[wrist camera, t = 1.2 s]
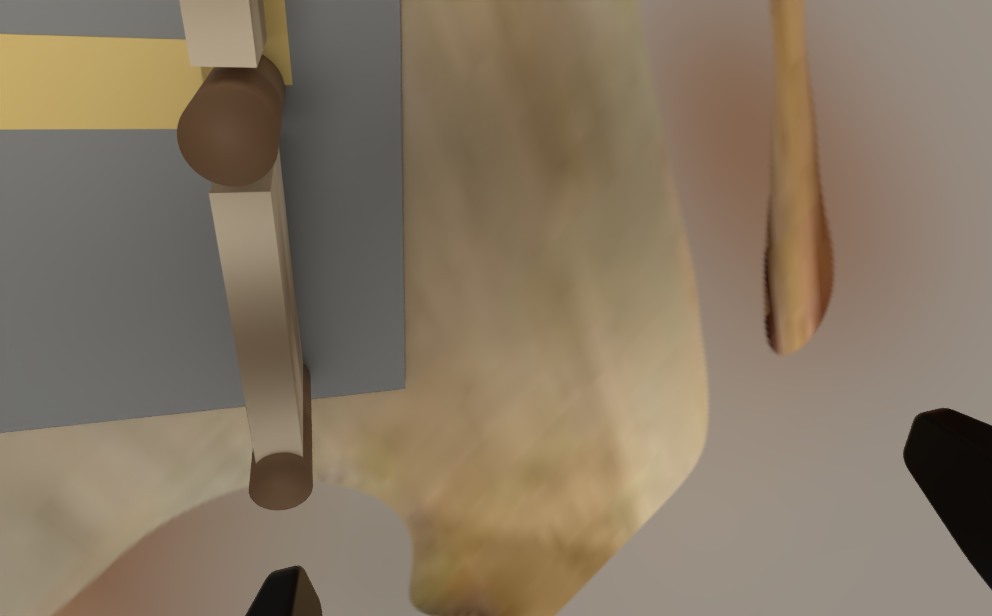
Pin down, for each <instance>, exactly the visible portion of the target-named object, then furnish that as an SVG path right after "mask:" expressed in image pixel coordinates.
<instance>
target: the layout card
mask: <svg viewBox="0 0 992 616" xmlns="http://www.w3.org/2000/svg"><path fill="white" fill-rule="evenodd" d="M263 1H264V11H265V20H266V29H267V41H266V44H265V46H264V49H263V52H262V55H264V56H265V57H267V58H268V59H269V60H271V61H272V62H273V63H274V64H275V65H276V67H277V68H278V70H279V71H280V73H281V75H282V77H283V80H284V85H285V97H284V105H283V114H282V123H281V131H280V140H279V152H280V161H281V170H282V179H283V188H284V197H285V206H286V215H287V224H288V233H289V242H290V251H291V260H292V269H293V278H294V287H295V296H296V304H297V313H298V322H299V331H300V340H301V349H302V358H303V363H304V364H305V365H306V366H307V367H308V369H309V371H310V374H311V399H316V398H325V397H334V396H343V395H353V394H362V393H371V392H380V391H389V390H398V389H405V338H404V262H403V187H402V111H401V36H400V0H263ZM213 68H214V67H196V66H190V60H189V54H188V49H187V43H186V37H185V31H184V25H183V19H182V14H181V8H180V2H179V0H0V433H5V432H14V431H23V430H32V429H41V428H50V427H60V426H69V425H78V424H87V423H96V422H105V421H115V420H124V419H133V418H142V417H151V416H160V415H169V414H179V413H188V412H197V411H206V410H215V409H224V408H234V407H243V406H246V404H245V398H244V393H243V387H242V381H241V376H240V370H239V364H238V358H237V353H236V347H235V341H234V335H233V330H232V324H231V318H230V312H229V307H228V301H227V295H226V289H225V284H224V278H223V272H222V266H221V261H220V255H219V249H218V243H217V238H216V232H215V226H214V220H213V215H212V209H211V203H210V197H209V191H210V189H211V186H212V183H213V182H211V181H209V180H207V179H205V178H203V177H202V176H200V175H199V174H198V173H196V172H195V171H194V170H193V169H192V168H191V167H190V166H189V165H188V163H187V162H186V160H185V159H184V157H183V155H182V154H181V151H180V149H179V145H178V141H177V126H178V122H179V119H180V117H181V115H182V113H183V111H184V110H185V108H186V107H187V105H188V104H189V102H190V101H191V100H192V98H193V97H194V95H195V94H196V92H197V91H198V89H199V88H200V87H201V85H202V84H203V82H204V81H205V79H206V78H207V76H208V75H209V73H210V72H211V71H212V69H213Z"/></svg>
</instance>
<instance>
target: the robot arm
mask: <svg viewBox="0 0 992 616" xmlns="http://www.w3.org/2000/svg"><path fill="white" fill-rule="evenodd" d="M903 457H904V461H905V464H906V466H907V468H908V470H909V471H910V473H911V474H912V476H913V478H914V479H915V481H916V482H917V484H918V485H919V487H920V488H921V490H922V491H923V493H924V494H925V496H926V497H927V499H928V500H929V502H930V503H931V505H932V506H933V508H934V509H935V511H936V512H937V514H938V516H939V517H940V519H941V520H942V522H943V523H944V524H945V526H946V528H947V529H948V531H949V532H950V534H951V535H952V537H953V538H954V540H955V541H956V543H957V544H958V546H959V547H960V549H961V550H962V552H963V553H964V554H965V556H966V557H967V559H968V560H969V561H970V563H971V564H972V565H973V567H974V568H975V569H976V571H977V572H978V573H979V575H980V576H981V577H982V578H983V579H984V581H985V582H986V584H987V585H988V586H989V587H990V588H991V590H992V426H991V425H989V424H987V423H984V422H982V421H979V420H977V419H974V418H972V417H969V416H967V415H964V414H962V413H960V412H957V411H954V410H951V409H948V408H939V409H935V410H931V411H927V412H923V413H920V414H918V415H917V416H916V417H915V419H914V421H913V423H912V426H911V429H910V432H909V435H908V439H907V441H906V444H905V447H904V451H903ZM245 616H322V609H321V604H320V601H319V598H318V596H317V594H316V592H315V590H314V588H313V586H312V584H311V582H310V580H309V578H308V576H307V574H306V572H305V570H304V569H303V568H302V567H301V566H292V567H288V568H285V569H280V570H276V571H274V572H272V573H271V574H270V575H269V576H268V577H267V578H266V580H265V582H264V583H263V585H262V587H261V589H260V590H259V592H258V594H257V596H256V597H255V599H254V601H253V603H252V605H251V606H250V608H249V610H248V612H247V614H246V615H245Z"/></svg>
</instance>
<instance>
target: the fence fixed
mask: <svg viewBox="0 0 992 616" xmlns="http://www.w3.org/2000/svg"><path fill="white" fill-rule="evenodd" d="M179 2H180V8H181V14H182V19H183V25H184V31H185V37H186V43H187V49H188V54H189V60H190V66H196V67H214V68H213V69H212V71H211V72H210V73H209V75H208V76H207V78H206V79H205V81H204V82H203V84H202V85H201V87H200V88H199V89H198V91H197V92H196V94H195V95H194V97H193V98H192V100H191V101H190V102H189V104H188V105H187V107H186V108H185V110H184V111H183V113H182V115H181V117H180V119H179V122H178V126H177V141H178V145H179V149H180V151H181V154H182V155H183V157H184V159H185V160H186V162H187V163H188V165H189V166H190V167H191V168H192V169H193V170H194V171H195V172H196V173H198V174H199V175H200V176H202V177H203V178H205V179H207V180H209V181H211V182H213V183H216V184H220V185H224V186H234V187H236V186H244V185H249V184H252V183H254V182H256V181H258V180H260V179H261V178H263V177H264V176H265V175H266V174H267V173H268V172H269V171H270V170H271V169H272V167H273V165H274V164H275V161H276V159H277V155H278V149H279V140H280V131H281V123H282V114H283V105H284V97H285V85H284V80H283V77H282V75H281V73H280V71H279V70H278V68H277V67H276V65H275V64H274V63H273V62H272V61H271V60H269V59H268V58H267V57H265V56H264V55H262V52H263V49H264V46H265V44H266V41H267V29H266V20H265V11H264V1H263V0H179Z"/></svg>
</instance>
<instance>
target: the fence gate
mask: <svg viewBox="0 0 992 616" xmlns="http://www.w3.org/2000/svg"><path fill="white" fill-rule="evenodd" d="M209 197H210V203H211V209H212V215H213V220H214V226H215V232H216V238H217V243H218V249H219V255H220V261H221V266H222V272H223V278H224V284H225V289H226V295H227V301H228V307H229V312H230V318H231V324H232V330H233V335H234V341H235V347H236V353H237V358H238V364H239V370H240V376H241V381H242V387H243V393H244V398H245V404H246V410H247V416H248V421H249V427H250V433H251V439H252V444H253V453H252V463H251V473H250V483H249V494H250V497H251V499H252V500H253V501H254V502H255V503H256V504H257V505H259V506H261V507H263V508H266V509H270V510H286V509H290V508H293V507H296V506H298V505H299V504H301V503H303V502H304V501H305V500H306V499H307V498H308V497H309V496H310V494H311V492H312V488H313V475H312V419H311V374H310V371H309V369H308V367H307V366H306V365H305V364H304V363H303V358H302V349H301V340H300V331H299V322H298V313H297V304H296V296H295V287H294V278H293V269H292V260H291V251H290V242H289V233H288V224H287V215H286V206H285V197H284V188H283V179H282V170H281V161H280V152H279V149H278V155H277V159H276V161H275V164H274V165H273V167H272V169H271V170H270V171H269V172H268V173H267V174H266V175H265V176H264V177H263V178H261V179H260V180H258V181H256V182H254V183H252V184H249V185H244V186H236V187H234V186H224V185H220V184H216V183H212V186H211V189H210V191H209Z"/></svg>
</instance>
